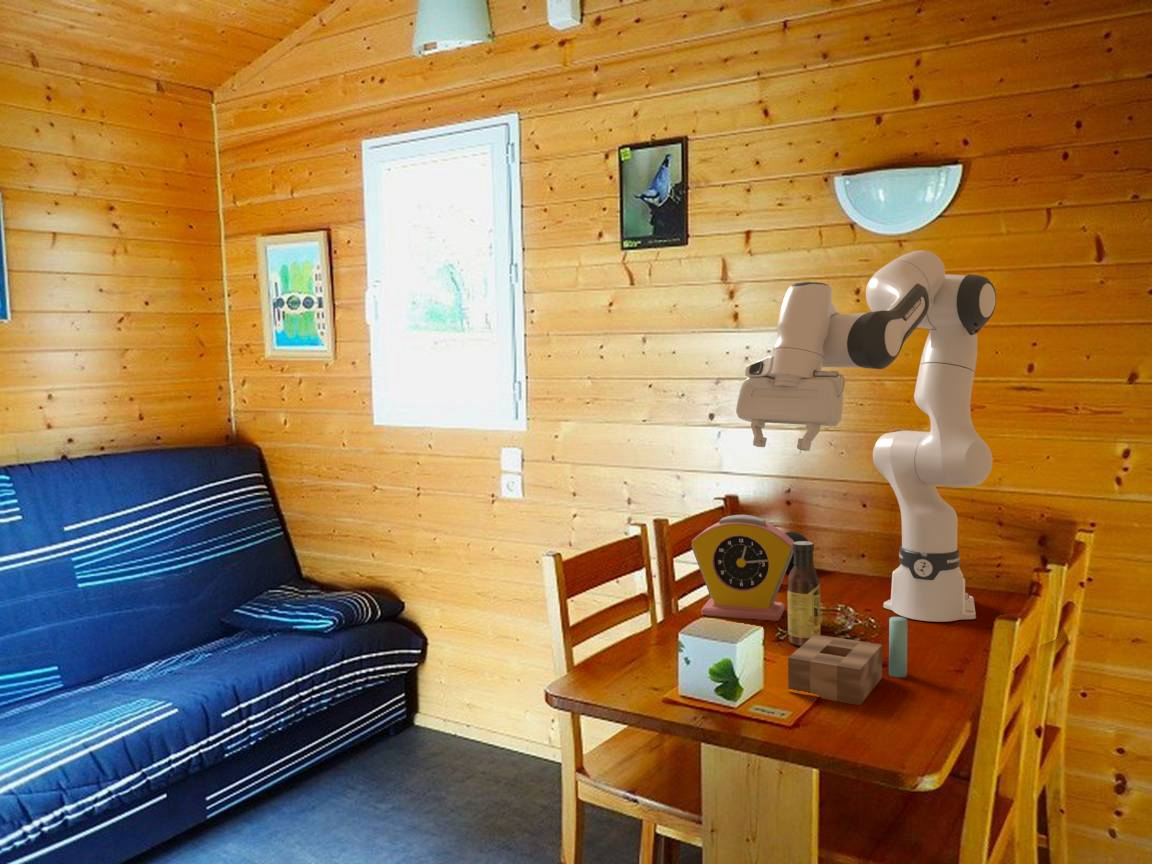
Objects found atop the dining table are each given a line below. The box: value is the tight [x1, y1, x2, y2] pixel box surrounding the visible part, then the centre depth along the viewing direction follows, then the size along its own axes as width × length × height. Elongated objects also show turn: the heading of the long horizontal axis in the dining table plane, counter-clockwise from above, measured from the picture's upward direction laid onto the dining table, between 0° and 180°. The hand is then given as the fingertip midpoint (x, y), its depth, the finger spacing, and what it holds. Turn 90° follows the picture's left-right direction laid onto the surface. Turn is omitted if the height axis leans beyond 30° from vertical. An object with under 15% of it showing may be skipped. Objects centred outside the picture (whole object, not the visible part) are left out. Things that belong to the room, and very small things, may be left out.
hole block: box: [787, 634, 883, 706], centre depth 159 cm, size 14×12×6 cm
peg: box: [888, 616, 908, 679], centre depth 163 cm, size 3×3×10 cm
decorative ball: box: [784, 531, 810, 572], centre depth 237 cm, size 10×10×10 cm
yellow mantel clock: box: [690, 514, 794, 622], centre depth 201 cm, size 22×9×22 cm, turn 69°
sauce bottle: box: [786, 540, 821, 647], centre depth 180 cm, size 6×6×20 cm
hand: (780, 448), depth 160 cm, fingers open, 8 cm apart
